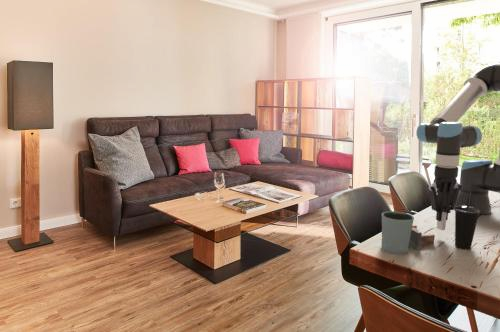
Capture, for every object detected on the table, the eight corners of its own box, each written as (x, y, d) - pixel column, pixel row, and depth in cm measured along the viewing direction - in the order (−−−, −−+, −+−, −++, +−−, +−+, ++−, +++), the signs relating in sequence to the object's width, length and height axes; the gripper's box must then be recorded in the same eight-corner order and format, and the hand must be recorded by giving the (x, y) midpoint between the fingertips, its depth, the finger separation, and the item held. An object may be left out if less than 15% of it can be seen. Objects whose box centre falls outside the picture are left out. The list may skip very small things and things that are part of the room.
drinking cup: (474, 253, 132) (481, 195, 129) (449, 248, 136) (455, 192, 133) (476, 245, 139) (482, 190, 135) (451, 241, 143) (457, 187, 139)
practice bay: (414, 233, 150) (415, 218, 149) (439, 248, 137) (441, 231, 136) (393, 235, 148) (395, 220, 147) (417, 250, 135) (418, 233, 134)
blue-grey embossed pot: (373, 247, 137) (375, 214, 135) (391, 241, 143) (393, 209, 140) (399, 257, 129) (401, 222, 127) (417, 250, 134) (420, 216, 132)
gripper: (455, 163, 146) (449, 224, 151) (423, 164, 143) (418, 226, 148) (470, 166, 139) (463, 230, 144) (437, 168, 136) (432, 234, 141)
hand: (440, 228), depth 146 cm, fingers closed
